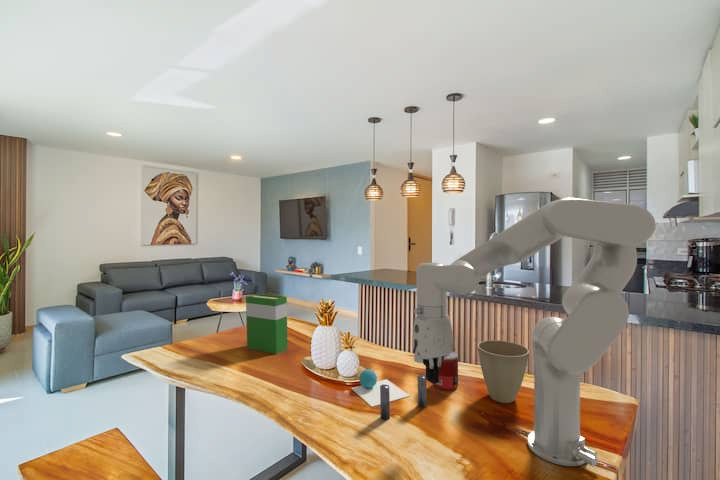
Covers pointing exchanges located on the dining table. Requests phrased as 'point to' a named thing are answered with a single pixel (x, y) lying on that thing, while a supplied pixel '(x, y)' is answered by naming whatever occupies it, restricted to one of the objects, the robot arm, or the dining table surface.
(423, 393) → the right post
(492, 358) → the plant pot
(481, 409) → the dining table surface
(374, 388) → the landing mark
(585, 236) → the robot arm
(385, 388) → the left post
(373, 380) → the teal sphere
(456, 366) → the canned food
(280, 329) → the green cereal box
